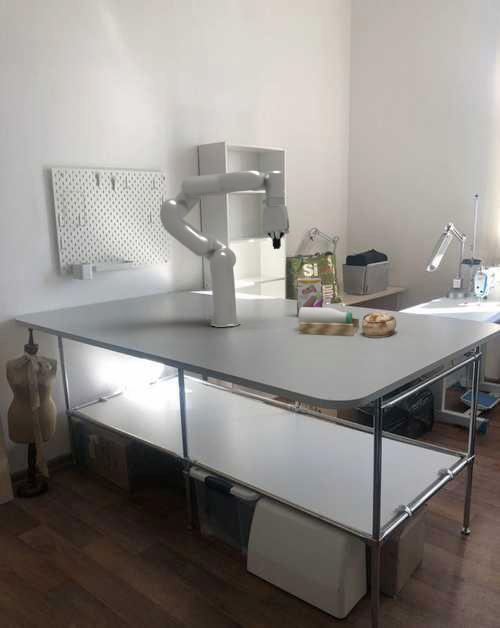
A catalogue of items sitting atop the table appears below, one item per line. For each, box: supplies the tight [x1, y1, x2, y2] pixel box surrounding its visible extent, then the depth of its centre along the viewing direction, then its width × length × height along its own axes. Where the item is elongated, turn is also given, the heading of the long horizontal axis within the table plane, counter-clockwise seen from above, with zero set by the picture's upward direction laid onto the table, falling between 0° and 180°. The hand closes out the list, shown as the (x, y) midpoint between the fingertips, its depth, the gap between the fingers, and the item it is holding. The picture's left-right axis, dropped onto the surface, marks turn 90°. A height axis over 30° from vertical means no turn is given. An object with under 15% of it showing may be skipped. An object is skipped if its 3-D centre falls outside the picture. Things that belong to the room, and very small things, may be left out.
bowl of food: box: [361, 311, 397, 339], centre depth 197 cm, size 13×15×8 cm
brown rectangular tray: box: [298, 317, 360, 337], centre depth 205 cm, size 20×14×4 cm
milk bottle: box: [297, 307, 353, 324], centre depth 207 cm, size 8×8×20 cm
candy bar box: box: [296, 278, 323, 317], centre depth 236 cm, size 11×5×16 cm, turn 84°
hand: (276, 248), depth 218 cm, fingers closed
